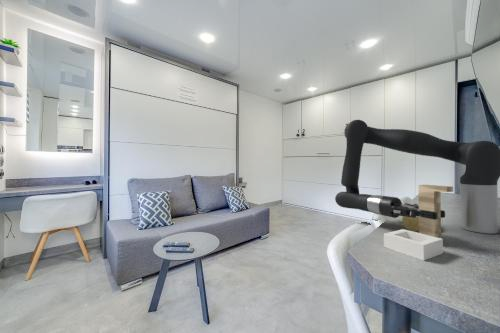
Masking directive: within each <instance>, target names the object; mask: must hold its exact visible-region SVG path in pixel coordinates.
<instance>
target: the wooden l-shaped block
mask: <svg viewBox="0 0 500 333" xmlns="http://www.w3.org/2000/svg"><path fill="white" fill-rule="evenodd" d="M451 192H454V186H452V185H436V184H418V205H419V209H421V210H426V211H432V212H437V213H438V219H429V218H424V217H420V218H419V231H418V233H421V234H425V235H429V236H433V237H437V238H441V239H442V229H441V228H442V218H441V210H442V208H441V207H442V205H441V203H442V202H441V200H442V199H441V198H442V197H441V193H451Z"/></svg>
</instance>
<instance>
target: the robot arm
mask: <svg viewBox="0 0 500 333" xmlns="http://www.w3.org/2000/svg"><path fill="white" fill-rule="evenodd" d="M344 137H345V138H346V140H345V141H346V148H345V157H344V160H343V165H342V170H341V179H340V180H341V181H340V183H341V185H342V186H343V187H345V191H340V192H337V193H336V195H335V198H334V200H335V203H336V204H337V205H338V206H339V207H341V208H344V209H354V210H360V211H363V212H368V213H373V214H375V215H379V216H385V217H389V218H392V219H393V218H394V219H396V218H399V217H402V216H406V217H413V218H416V217H419V218H420V217H424V218H429V219H438V213H437V212H432V211H426V210H421V209H419V203H418V204H417V203H414V204H412V203H410V202H409V203H408V202H405V203H403V202H402V200H401V199H400V198H398V196H397V197H395V196H388V195H380V194H379V195H378V194H376V195H375V194H367V193H360V189H359V179H360V169H361V160H362V154H363V148H364V144H368V145H369V144H370V145H376V146H378V147H383V148H386V149H390V150H394V151H397V152H398V151H399V152H402V153H407V154H413V155H416V156H417V155H419V156H425V157H432V158H433V157H435V158H440V159H444V160H447V161H452V162H455V163H457V164H461V165H464V166H465V169H464V170H465V171H464V172H463V175H461V176H460V177H459V187H460V188H459V193H460V194H459V196H460V199H459V200H460V203H459V204H460V228H461V229H463V230H466V231H469V232H474V233H482V234H491V235H492V234H494V235H495V234H498V233H499V217H498V216H499V209H498V207H499V204H498V201H499V200H498V199H499V196H498V181H499V179H500V147H499V145H498V144H496V143H495V142H493V141H490V140H478V141H472V142H465V141H464V142H463V141H455V140H454V141H453V140H447V139H442V138H440V137H437V136H435V135H431V134H429V133H426V132H424V131H422V132H421V131H417V130H411V129H403V128H402V129H401V128H400V129H399V128H398V129H397V128H390V129H388V128H386V129H384V128H377V127H371V126H369V125H367V123H366V122H365V121H363V120H361V119H353V120H351V121H350V122H348V123H347V125H346V126H345V129H344ZM443 218H446V211H445V210H442V209H441V219H443Z"/></svg>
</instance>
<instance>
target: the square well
mask: <svg viewBox="0 0 500 333" xmlns="http://www.w3.org/2000/svg"><path fill="white" fill-rule="evenodd" d="M383 247H384V248H386V249H389V250H391V251H395V252H397V253H400V254H403V255H407V256H409V257H412V258H415V259H418V260H420V261H427V260H430V259H431V258H435V257H437V256H439V255H442V254H444V239H443V238H442V237H441V238H437V237H433V236H429V235H425V234H421V233H419V232H418V231H411V230H409V229H406V228H401V229H399V230H398V229H397V230H394V231H389V232H385V233H383Z"/></svg>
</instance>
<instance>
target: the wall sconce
mask: <svg viewBox="0 0 500 333" xmlns="http://www.w3.org/2000/svg"><path fill="white" fill-rule="evenodd" d="M401 217H402V224H403V226H404V227H405V229H406V230H409V231H413V232H419V217H416V218H413V217H406V216H401ZM441 230H442V227H441Z"/></svg>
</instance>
